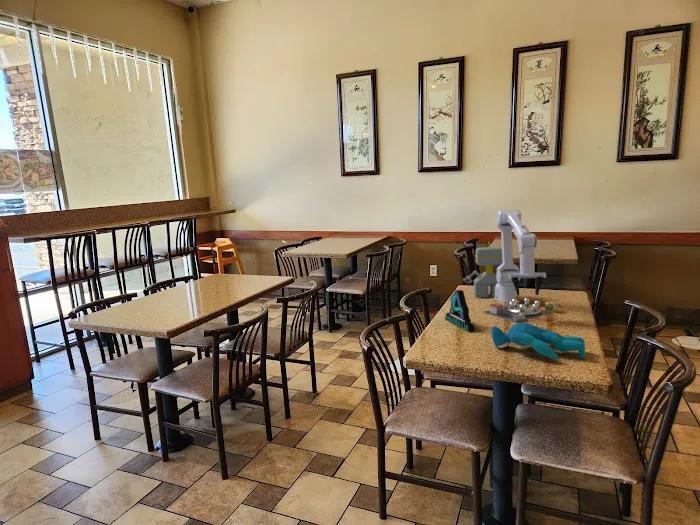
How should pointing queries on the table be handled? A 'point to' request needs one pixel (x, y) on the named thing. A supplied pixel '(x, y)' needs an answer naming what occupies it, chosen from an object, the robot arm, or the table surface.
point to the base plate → (514, 317)
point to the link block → (552, 306)
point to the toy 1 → (488, 258)
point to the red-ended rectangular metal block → (496, 309)
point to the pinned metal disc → (525, 308)
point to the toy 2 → (538, 340)
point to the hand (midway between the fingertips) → (527, 295)
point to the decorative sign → (463, 316)
